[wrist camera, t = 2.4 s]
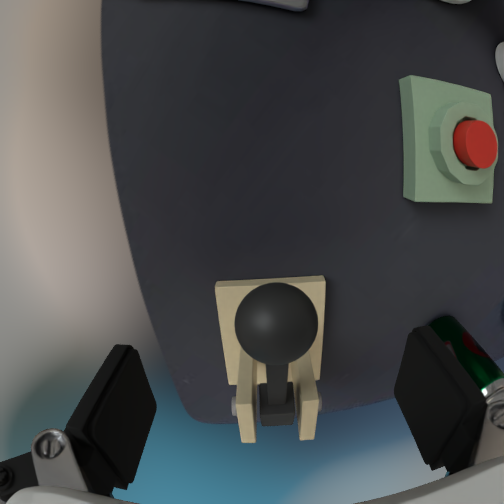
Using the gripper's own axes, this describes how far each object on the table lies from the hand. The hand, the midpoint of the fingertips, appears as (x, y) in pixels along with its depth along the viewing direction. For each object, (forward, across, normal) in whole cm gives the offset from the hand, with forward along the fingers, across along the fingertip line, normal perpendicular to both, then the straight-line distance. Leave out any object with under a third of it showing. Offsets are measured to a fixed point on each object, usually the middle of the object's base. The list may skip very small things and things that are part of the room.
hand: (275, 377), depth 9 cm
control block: (+16, -16, -8) cm, 24 cm away
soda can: (+16, -18, +11) cm, 27 cm away
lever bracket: (+16, 0, +9) cm, 18 cm away
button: (+12, -16, -8) cm, 22 cm away
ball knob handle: (+6, 0, +4) cm, 7 cm away
